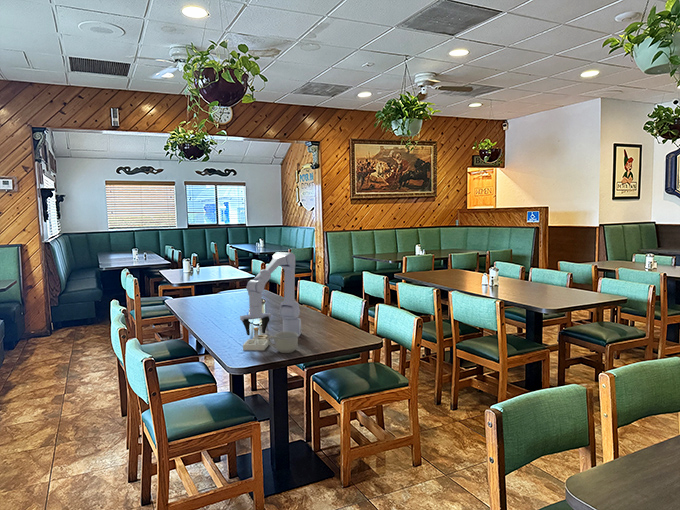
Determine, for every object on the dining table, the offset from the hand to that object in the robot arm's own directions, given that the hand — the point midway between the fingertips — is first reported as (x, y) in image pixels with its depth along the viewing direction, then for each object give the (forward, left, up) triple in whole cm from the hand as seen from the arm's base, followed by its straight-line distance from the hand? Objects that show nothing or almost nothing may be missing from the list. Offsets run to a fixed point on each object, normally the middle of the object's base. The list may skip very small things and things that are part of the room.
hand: (256, 333), depth 221 cm
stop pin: (0, 0, -6) cm, 6 cm away
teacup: (-14, +6, -7) cm, 17 cm away
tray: (0, 0, -6) cm, 6 cm away
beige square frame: (0, -8, -6) cm, 11 cm away
